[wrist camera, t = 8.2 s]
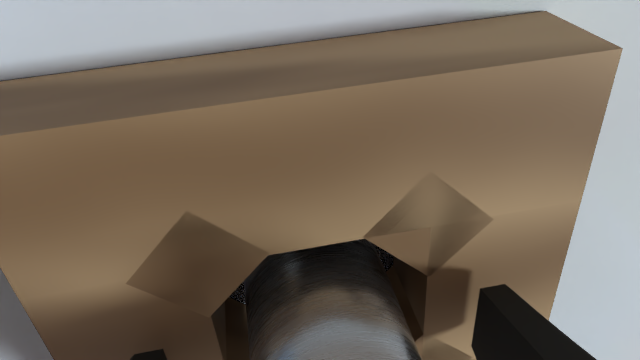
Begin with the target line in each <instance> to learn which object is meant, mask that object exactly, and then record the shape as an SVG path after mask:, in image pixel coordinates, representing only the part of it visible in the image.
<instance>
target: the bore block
mask: <svg viewBox="0 0 640 360" xmlns="http://www.w3.org/2000/svg"><path fill="white" fill-rule="evenodd" d="M622 49H623V48H621V47H619V46H617V45H614V44H612V43H610V42H608V41H606V40H604V39H602V38H600V37H598V36H596V35H594V34H592V33H590V32H588V31H586V30H584V29H582V28H580V27H578V26H576V25H574V24H571V23H569V22H567V21H565V20H563V19H561V18H559V17H557V16H555V15H553V14H551V13H549V12H547V11H542V12H534V13H526V14H518V15H511V16H503V17H495V18H487V19H480V20H472V21H464V22H456V23H449V24H441V25H433V26H425V27H418V28H410V29H402V30H394V31H387V32H379V33H371V34H363V35H356V36H348V37H340V38H332V39H325V40H317V41H309V42H301V43H294V44H286V45H278V46H270V47H263V48H255V49H247V50H239V51H232V52H224V53H216V54H208V55H201V56H193V57H185V58H178V59H170V60H162V61H154V62H147V63H139V64H131V65H123V66H116V67H108V68H100V69H92V70H85V71H77V72H69V73H61V74H54V75H46V76H38V77H30V78H23V79H15V80H7V81H0V268H1V270H2V271H3V273H4V275H5V277H6V278H7V280H8V282H9V283H10V285H11V287H12V289H13V290H14V292H15V294H16V295H17V297H18V299H19V301H20V302H21V304H22V306H23V307H24V309H25V311H26V313H27V314H28V316H29V318H30V319H31V321H32V323H33V325H34V326H35V328H36V330H37V331H38V333H39V335H40V337H41V338H42V340H43V342H44V344H45V345H46V347H47V349H48V350H49V352H50V354H51V356H52V357H53V359H54V360H130V358H131V357H132V356H133V355H134V354H138V353H143V352H148V351H154V350H159V349H163V350H164V353H165V355H166V358H167V360H250V355H249V341H248V328H247V315H246V305H245V304H243V303H241V302H238V301H236V300H234V299H231V298H229V296H230V295H231V294H232V293H233V292H234V291H235V290H236V289H237V288H238V287H239V285H240V284H241V283H242V282H243V281H244V280H245V279H246V278H247V277H248V276H249V275H250V274H251V273H252V272H253V271H254V270H255V269H256V268H257V266H258V265H259V264H260V263H261V262H262V261H263V260H264V259H265V258H266V257H267V256H268V255H273V254H279V253H284V252H290V251H296V250H302V249H307V248H313V247H319V246H325V245H330V244H336V243H342V242H348V241H353V240H359V239H366V240H368V241H370V242H371V243H373V244H375V245H376V246H378V247H380V248H382V249H383V250H385V251H387V252H388V253H390V254H392V255H393V266H392V267H391V268H390V269H388V270H387V271H386V273H387V276H388V278H389V281H390V283H391V286H392V288H393V291H394V293H395V295H396V298H397V300H398V303H399V305H400V308H401V310H402V312H403V315H404V317H405V320H406V322H407V325H408V327H409V329H410V332H411V334H412V337H413V339H414V342H415V344H416V347H417V349H418V351H419V354H420V356H421V359H422V360H477V359H476V357H475V354H474V352H473V349H472V346H471V344H472V338H473V331H474V324H475V318H476V311H477V305H478V298H479V291H480V288H485V287H491V286H496V285H501V284H506V285H507V286H508V287H510V288H511V289H512V290H513V291H514V292H515V293H517V294H518V295H519V296H520V297H521V298H522V299H524V300H525V301H526V302H527V303H528V304H529V305H531V306H532V307H533V308H534V309H535V310H536V311H538V312H539V313H540V314H541V315H542V316H544V317H545V318H546V319H547V320H549V317H550V313H551V309H552V306H553V302H554V298H555V294H556V291H557V287H558V283H559V280H560V276H561V272H562V269H563V265H564V261H565V258H566V254H567V250H568V247H569V243H570V239H571V236H572V232H573V228H574V225H575V221H576V217H577V214H578V210H579V206H580V203H581V199H582V195H583V192H584V188H585V184H586V181H587V177H588V173H589V170H590V166H591V162H592V159H593V155H594V151H595V148H596V144H597V140H598V137H599V133H600V129H601V126H602V122H603V118H604V115H605V111H606V107H607V104H608V100H609V96H610V93H611V89H612V85H613V82H614V78H615V74H616V71H617V67H618V63H619V60H620V56H621V52H622Z"/></svg>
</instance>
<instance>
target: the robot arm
mask: <svg viewBox="0 0 640 360" xmlns="http://www.w3.org/2000/svg"><path fill="white" fill-rule="evenodd" d="M471 346H472V349H473V352H474V354H475V357H476V359H477V360H596V359H595V358H594V357H593V356H591V355H590V354H589V353H588V352H586V351H585V350H584V349H583V348H581V347H580V346H579V345H577V344H576V343H575V342H574V341H572V340H571V339H570V338H569V337H568V336H566V335H565V334H564V333H563V332H561V331H560V330H559V329H558V328H557V327H555V326H554V325H553V324H552V323H551V322H549V321H548V320H547V319H546V318H545V317H544V316H542V315H541V314H540V313H539V312H538V311H536V310H535V309H534V308H533V307H532V306H531V305H529V304H528V303H527V302H526V301H525V300H524V299H522V298H521V297H520V296H519V295H518V294H517V293H515V292H514V291H513V290H512V289H511V288H510V287H508V286H507V285H506V284H501V285H496V286H491V287H485V288H480V291H479V298H478V305H477V311H476V318H475V324H474V331H473V338H472V344H471ZM130 360H167V358H166V355H165V353H164V350H163V349H159V350H154V351H148V352H143V353H138V354H134V355H133V356H132V357H131V358H130Z"/></svg>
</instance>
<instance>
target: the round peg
mask: <svg viewBox="0 0 640 360" xmlns="http://www.w3.org/2000/svg"><path fill="white" fill-rule="evenodd" d="M244 288H245V301H246V315H247V328H248V341H249V355H250V360H422V359H421V356H420V354H419V351H418V349H417V347H416V344H415V342H414V339H413V337H412V334H411V332H410V329H409V327H408V325H407V322H406V320H405V317H404V315H403V312H402V310H401V308H400V305H399V303H398V300H397V298H396V295H395V293H394V291H393V288H392V286H391V283H390V281H389V278H388V276H387V273H386V271H385V269H384V266H383V264H382V261H381V259H380V256H379V254H378V252H377V249H376V247H375V244H373V243H371V242H370V241H368V240H366V239H359V240H353V241H348V242H342V243H336V244H330V245H325V246H319V247H313V248H307V249H302V250H296V251H290V252H284V253H279V254H273V255H268V256H267V257H266V258H265V259H264V260H263V261H262V262H261V263H260V264H259V265H258V266H257V268H256V269H255V270H254V271H253V272H252V273H251V274H250V275H249V276H248V277H247V278H246V279H245V280H244Z"/></svg>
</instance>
